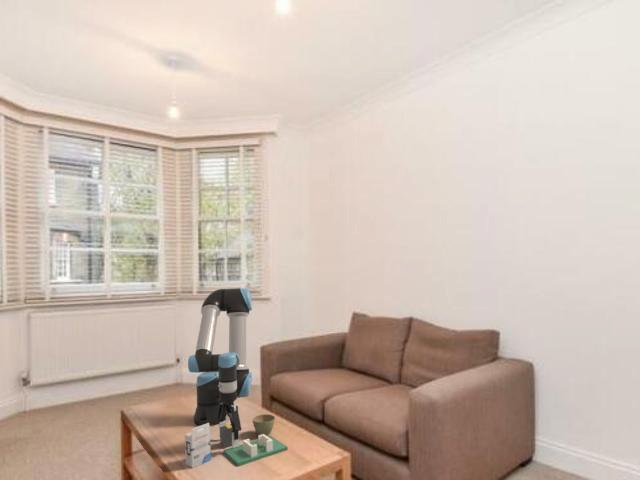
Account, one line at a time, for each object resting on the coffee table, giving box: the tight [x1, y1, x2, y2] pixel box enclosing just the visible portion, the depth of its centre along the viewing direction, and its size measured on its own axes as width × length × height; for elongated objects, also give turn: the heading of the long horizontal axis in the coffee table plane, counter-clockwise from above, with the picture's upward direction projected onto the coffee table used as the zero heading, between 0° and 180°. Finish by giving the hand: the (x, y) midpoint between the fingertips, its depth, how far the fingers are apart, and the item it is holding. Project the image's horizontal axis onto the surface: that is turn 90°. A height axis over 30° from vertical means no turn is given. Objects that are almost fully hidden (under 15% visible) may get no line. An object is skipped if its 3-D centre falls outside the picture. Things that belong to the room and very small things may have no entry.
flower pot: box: [252, 413, 276, 437], centre depth 193 cm, size 10×10×7 cm
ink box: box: [184, 423, 211, 469], centre depth 168 cm, size 8×5×15 cm, turn 140°
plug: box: [219, 423, 233, 449], centre depth 183 cm, size 4×6×8 cm, turn 126°
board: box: [223, 434, 289, 467], centre depth 176 cm, size 14×22×5 cm, turn 126°
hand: (229, 441), depth 183 cm, fingers open, 12 cm apart
